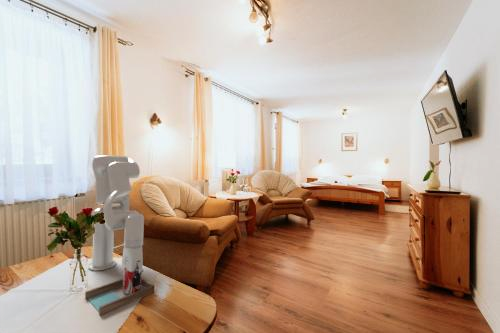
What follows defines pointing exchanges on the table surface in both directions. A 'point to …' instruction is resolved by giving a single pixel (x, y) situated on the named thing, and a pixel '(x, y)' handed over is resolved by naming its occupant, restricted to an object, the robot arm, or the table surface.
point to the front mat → (103, 299)
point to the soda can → (129, 282)
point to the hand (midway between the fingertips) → (132, 282)
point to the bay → (121, 301)
